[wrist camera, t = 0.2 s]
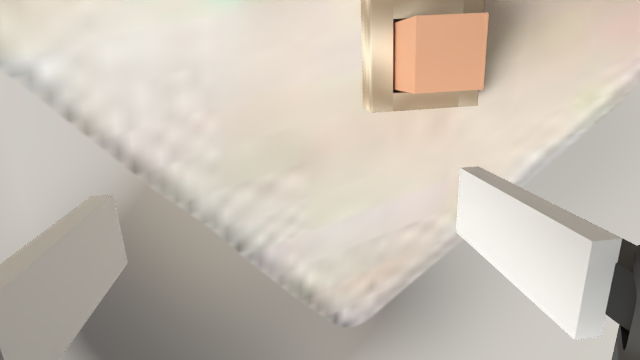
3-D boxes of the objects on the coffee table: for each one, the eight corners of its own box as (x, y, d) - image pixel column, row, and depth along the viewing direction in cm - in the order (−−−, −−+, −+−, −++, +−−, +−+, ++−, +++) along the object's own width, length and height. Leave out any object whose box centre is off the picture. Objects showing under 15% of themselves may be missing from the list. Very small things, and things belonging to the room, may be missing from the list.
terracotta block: (393, 23, 36) (416, 15, 30) (454, 20, 37) (488, 12, 31) (392, 89, 38) (414, 93, 32) (451, 85, 38) (483, 89, 33)
